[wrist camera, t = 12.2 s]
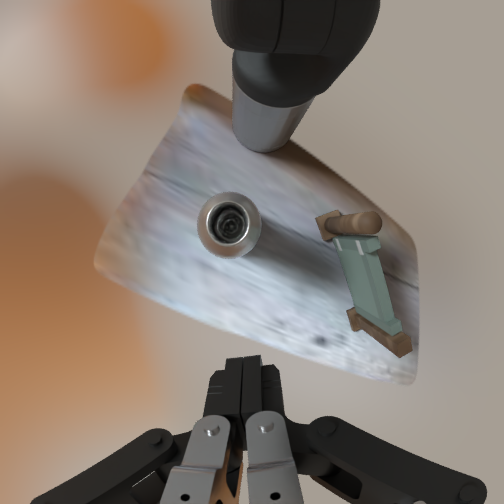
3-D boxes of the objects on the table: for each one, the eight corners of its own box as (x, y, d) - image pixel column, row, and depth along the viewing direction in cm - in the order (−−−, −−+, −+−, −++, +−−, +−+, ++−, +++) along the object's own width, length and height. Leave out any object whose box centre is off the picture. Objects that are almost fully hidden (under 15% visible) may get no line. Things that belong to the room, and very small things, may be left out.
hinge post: (315, 217, 45) (352, 212, 30) (335, 210, 45) (380, 201, 30) (323, 240, 45) (363, 244, 30) (343, 232, 45) (390, 233, 30)
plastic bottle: (253, 204, 44) (269, 182, 24) (252, 250, 44) (266, 265, 25) (209, 202, 44) (190, 180, 24) (208, 249, 44) (187, 263, 24)
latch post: (345, 306, 46) (388, 336, 31) (367, 296, 46) (417, 321, 31) (351, 329, 46) (395, 366, 31) (373, 319, 46) (422, 350, 31)
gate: (331, 238, 44) (365, 241, 32) (341, 234, 44) (377, 235, 32) (355, 312, 45) (391, 336, 33) (365, 307, 45) (403, 330, 33)
